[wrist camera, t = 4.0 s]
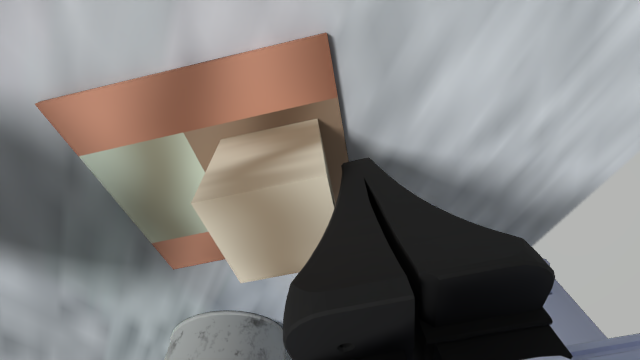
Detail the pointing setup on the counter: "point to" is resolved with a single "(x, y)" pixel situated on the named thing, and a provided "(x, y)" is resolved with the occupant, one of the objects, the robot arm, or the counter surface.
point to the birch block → (267, 199)
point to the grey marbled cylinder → (227, 338)
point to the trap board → (195, 132)
